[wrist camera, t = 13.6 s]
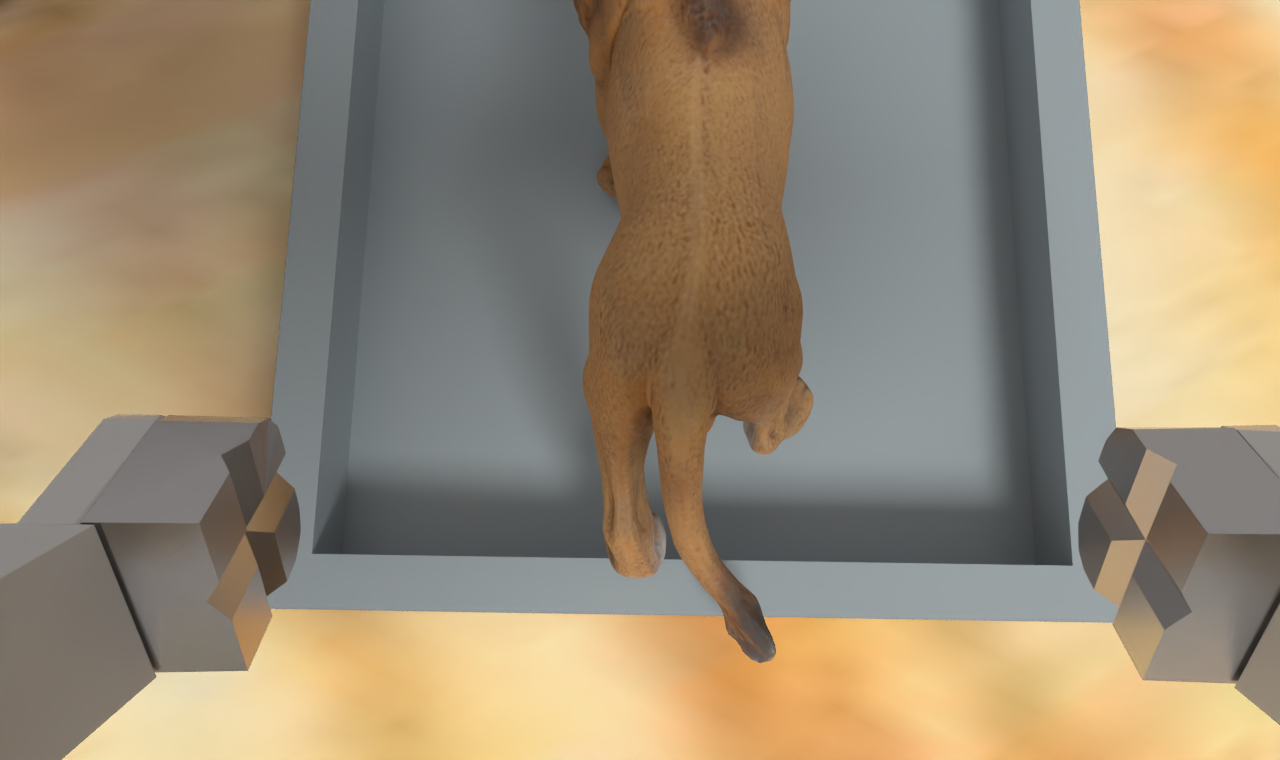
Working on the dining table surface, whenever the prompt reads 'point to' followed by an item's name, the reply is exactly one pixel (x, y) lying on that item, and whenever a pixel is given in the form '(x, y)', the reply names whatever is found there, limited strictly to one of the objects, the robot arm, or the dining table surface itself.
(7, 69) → the dining table surface
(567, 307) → the grey tray
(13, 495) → the dining table surface
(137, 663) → the robot arm
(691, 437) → the lion figurine
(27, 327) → the dining table surface
